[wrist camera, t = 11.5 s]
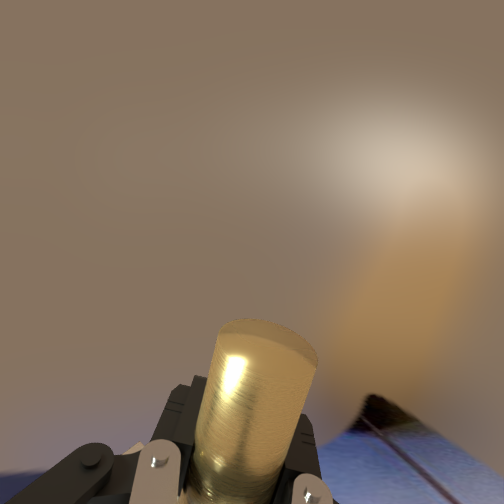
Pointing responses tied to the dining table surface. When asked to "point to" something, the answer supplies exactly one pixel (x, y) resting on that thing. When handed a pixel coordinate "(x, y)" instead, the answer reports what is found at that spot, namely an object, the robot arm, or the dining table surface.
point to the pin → (248, 413)
